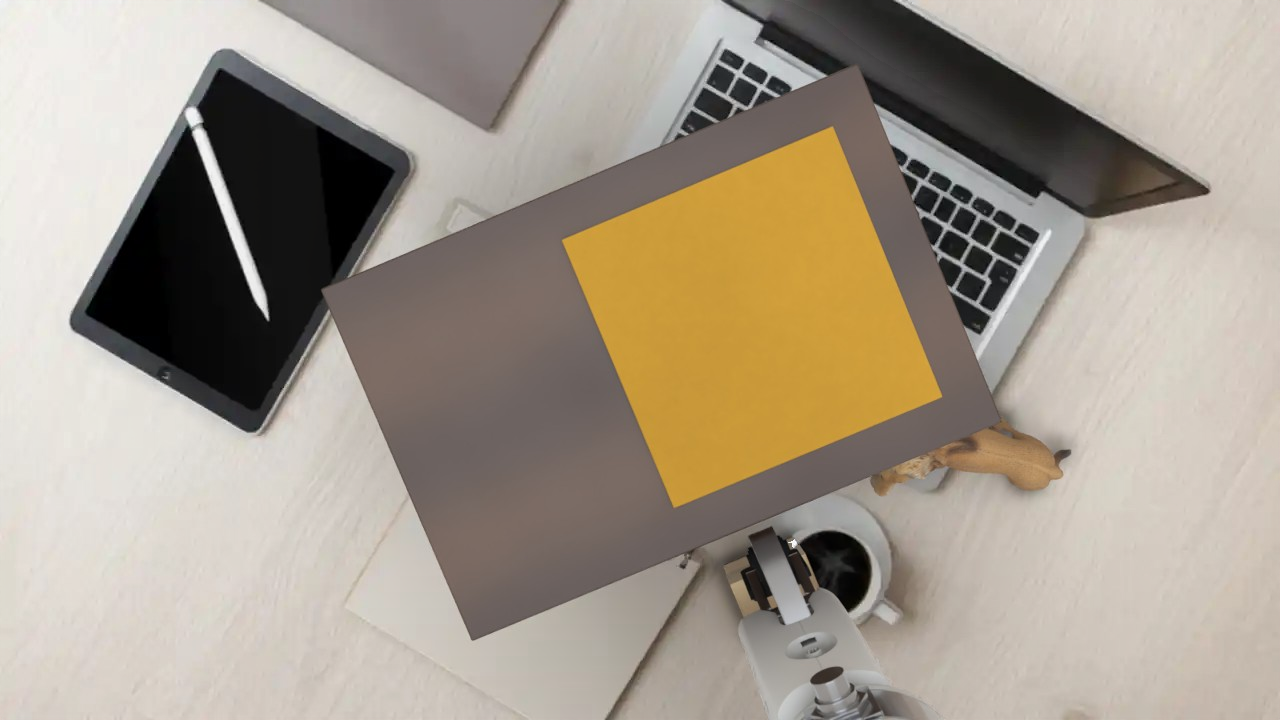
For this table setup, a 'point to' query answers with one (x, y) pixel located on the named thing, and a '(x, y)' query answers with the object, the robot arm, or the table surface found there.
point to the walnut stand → (607, 375)
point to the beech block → (740, 588)
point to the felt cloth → (752, 317)
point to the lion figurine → (984, 460)
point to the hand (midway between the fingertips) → (804, 648)
